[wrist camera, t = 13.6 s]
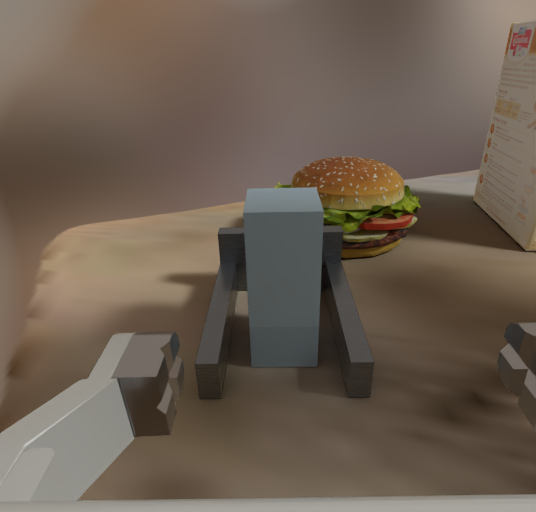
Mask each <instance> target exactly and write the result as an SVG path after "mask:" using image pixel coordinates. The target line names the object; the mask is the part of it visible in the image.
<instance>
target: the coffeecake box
mask: <svg viewBox="0 0 536 512" xmlns="http://www.w3.org/2000/svg"><path fill="white" fill-rule="evenodd" d="M473 200H474V201H475V202H476V203H477V204H478V205H479V206H480V207H481V208H482V209H483V210H484V211H485V212H486V213H487V214H488V215H489V216H490V217H491V218H492V219H493V220H495V221H496V222H497V223H498V224H499V225H500V226H501V227H502V228H503V229H504V230H505V231H506V232H507V233H508V234H509V235H510V236H511V237H512V238H513V239H514V240H515V241H516V242H517V243H518V244H519V245H520V246H521V247H523V248H524V249H525V250H526V251H536V20H531V21H526V22H520V23H512V24H511V28H510V33H509V39H508V43H507V48H506V52H505V56H504V61H503V66H502V71H501V75H500V80H499V84H498V89H497V93H496V98H495V103H494V107H493V112H492V117H491V121H490V126H489V131H488V135H487V139H486V144H485V149H484V153H483V158H482V162H481V167H480V171H479V176H478V180H477V185H476V190H475V194H474V199H473Z"/></svg>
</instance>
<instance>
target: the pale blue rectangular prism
mask: <svg viewBox="0 0 536 512" xmlns="http://www.w3.org/2000/svg"><path fill="white" fill-rule="evenodd" d="M243 218H244V236H245V254H246V273H247V291H248V310H249V328H250V347H251V365H252V367H317V365H318V341H319V317H320V293H321V269H322V245H323V221H324V210H323V207H322V204H321V201H320V198H319V195H318V191H317V188H316V187H310V188H261V189H260V188H259V189H248V191H247V197H246V201H245V206H244V211H243Z"/></svg>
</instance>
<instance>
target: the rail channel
mask: <svg viewBox="0 0 536 512" xmlns="http://www.w3.org/2000/svg"><path fill="white" fill-rule="evenodd" d="M218 241H219V253H220V267H219V271H218V275H217V279H216V283H215V287H214V291H213V295H212V298H211V302H210V306H209V310H208V314H207V318H206V322H205V326H204V330H203V334H202V338H201V342H200V346H199V350H198V354H197V357H196V361H195V369H196V376H197V383H198V391H199V398H200V399H221V396H222V390H223V383H224V377H225V370H226V363H227V357H228V350H229V344H230V337H231V331H232V324H233V317H234V311H235V304H236V298H237V291H238V290H247V273H246V254H245V236H244V227H238V228H220V229H219V232H218ZM342 241H343V230H342V228H341V226H323V245H322V269H321V289H324V290H325V294H326V299H327V304H328V308H329V313H330V317H331V322H332V327H333V331H334V336H335V340H336V345H337V350H338V354H339V359H340V363H341V368H342V373H343V377H344V382H345V387H346V391H347V396H348V398H353V397H370V392H371V383H372V375H373V367H374V360H373V357H372V354H371V351H370V348H369V345H368V342H367V339H366V336H365V333H364V330H363V327H362V324H361V321H360V318H359V314H358V311H357V308H356V305H355V302H354V299H353V296H352V293H351V290H350V287H349V284H348V281H347V278H346V275H345V272H344V269H343V266H342V262H341V256H342Z"/></svg>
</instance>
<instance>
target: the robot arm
mask: <svg viewBox="0 0 536 512" xmlns="http://www.w3.org/2000/svg"><path fill="white" fill-rule="evenodd" d="M504 337H505V339H506V340H507V342H508V344H507V345H506V346H505V347H504V348H503V349H502V350H501V351H500V353H499V358H498V370H499V375H500V377H501V380H502V382H503V383H504V385H505V387H506V388H507V390H509V391H511V392H512V393H514V394H515V395H517V396H519V401H518V406H519V407H520V409H521V410H522V411H523V413H524V414H525V416H526V417H527V419H528V420H529V422H530V423H531V424H532V426H533V427H534V428H536V322H522V323H510V324H509V326H508V327H507V328H506V332H505V335H504ZM179 346H180V345H179V341H178V336H177V334H176V333H175V332H140V333H116V334H114V335H112V337H111V338H110V340H109V342H108V344H107V345H106V347H105V349H104V351H103V352H102V354H101V356H100V357H99V359H98V361H97V363H96V364H95V366H94V368H93V370H92V371H91V373H90V375H89V377H88V378H87V379H81V380H79V381H78V382H76V383H75V384H73V385H72V386H70V387H69V388H67V389H66V390H64V391H63V392H61V393H60V394H58V395H57V396H55V397H54V398H52V399H51V400H49V401H48V402H46V403H45V404H43V405H42V406H40V407H39V408H37V409H36V410H34V411H33V412H31V413H30V414H28V415H27V416H25V417H24V418H22V419H21V420H19V421H18V422H16V423H15V424H13V425H12V426H10V427H9V428H7V429H6V430H4V431H3V432H1V433H0V512H536V494H504V495H433V496H361V497H290V498H220V499H150V500H79V501H77V500H78V499H79V498H80V497H81V496H82V495H83V493H84V492H85V491H86V490H87V489H88V488H89V487H90V486H91V485H92V484H93V483H94V482H95V481H96V479H97V478H98V477H99V476H100V475H101V474H102V473H103V472H104V471H105V470H106V469H107V468H108V467H109V466H110V464H111V463H112V462H113V461H114V460H115V459H116V458H117V457H118V456H119V455H120V454H121V453H122V452H123V451H124V449H125V448H126V447H127V446H128V445H129V444H130V443H131V442H132V441H133V440H134V437H140V436H160V435H170V434H171V430H172V427H173V423H174V420H175V416H176V412H177V411H176V406H175V402H176V401H177V400H178V399H179V398H180V397H181V394H182V390H183V382H184V367H183V361H182V359H181V358H180V357H179V356H178V355H177V352H178V349H179Z"/></svg>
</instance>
